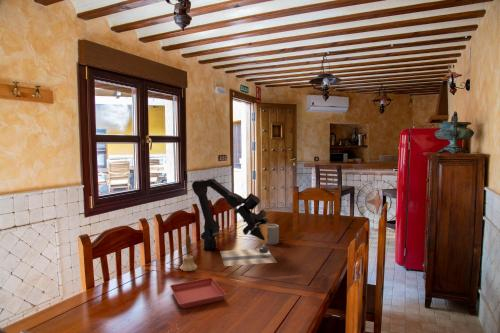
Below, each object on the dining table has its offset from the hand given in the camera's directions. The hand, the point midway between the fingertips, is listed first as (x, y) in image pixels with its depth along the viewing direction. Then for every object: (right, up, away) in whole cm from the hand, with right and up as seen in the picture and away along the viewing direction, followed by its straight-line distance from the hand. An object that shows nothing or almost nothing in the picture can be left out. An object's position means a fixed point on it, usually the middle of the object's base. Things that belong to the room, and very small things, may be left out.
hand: (266, 238), depth 179 cm
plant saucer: (-29, -15, -42) cm, 53 cm away
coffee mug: (+5, -8, +31) cm, 33 cm away
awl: (-1, -7, +1) cm, 7 cm away
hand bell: (-38, -12, -12) cm, 41 cm away
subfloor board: (-10, -10, +1) cm, 14 cm away
